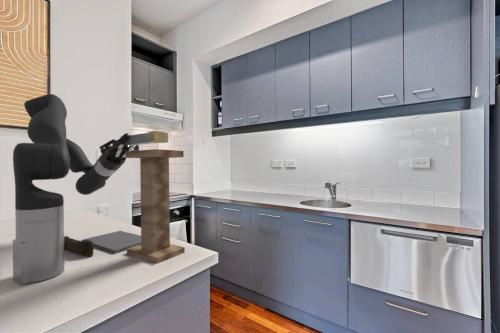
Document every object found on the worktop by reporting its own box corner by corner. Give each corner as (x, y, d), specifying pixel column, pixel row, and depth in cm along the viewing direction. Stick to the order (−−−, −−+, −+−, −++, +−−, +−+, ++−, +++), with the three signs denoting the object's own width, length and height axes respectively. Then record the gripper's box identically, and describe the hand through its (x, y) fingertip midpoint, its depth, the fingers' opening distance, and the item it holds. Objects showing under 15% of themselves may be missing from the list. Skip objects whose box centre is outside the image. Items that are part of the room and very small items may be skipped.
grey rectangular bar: (155, 141, 72) (154, 131, 72) (117, 145, 83) (117, 136, 83) (168, 142, 76) (168, 132, 76) (131, 146, 87) (131, 137, 87)
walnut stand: (157, 263, 68) (156, 149, 68) (126, 253, 76) (125, 151, 76) (184, 252, 76) (183, 150, 76) (154, 244, 84) (153, 152, 84)
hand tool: (55, 249, 81) (55, 235, 81) (69, 245, 85) (69, 232, 85) (82, 260, 71) (82, 245, 71) (96, 256, 75) (96, 241, 75)
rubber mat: (115, 253, 76) (115, 250, 76) (81, 242, 88) (81, 239, 88) (153, 241, 88) (153, 238, 88) (119, 233, 99) (119, 230, 99)
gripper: (86, 152, 85) (108, 123, 77) (125, 154, 97) (148, 129, 89) (91, 171, 83) (115, 143, 75) (130, 170, 95) (154, 146, 87)
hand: (133, 136), depth 82 cm, fingers closed on grey rectangular bar, 3 cm apart
